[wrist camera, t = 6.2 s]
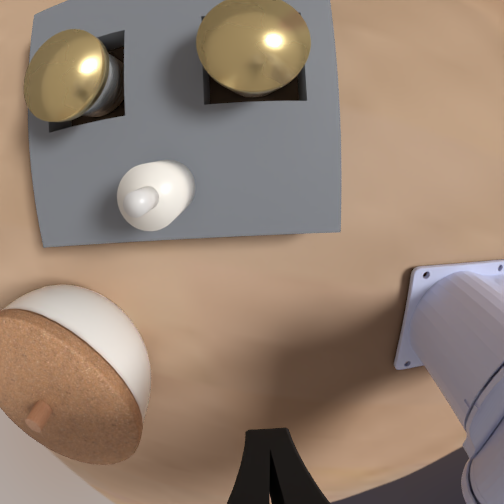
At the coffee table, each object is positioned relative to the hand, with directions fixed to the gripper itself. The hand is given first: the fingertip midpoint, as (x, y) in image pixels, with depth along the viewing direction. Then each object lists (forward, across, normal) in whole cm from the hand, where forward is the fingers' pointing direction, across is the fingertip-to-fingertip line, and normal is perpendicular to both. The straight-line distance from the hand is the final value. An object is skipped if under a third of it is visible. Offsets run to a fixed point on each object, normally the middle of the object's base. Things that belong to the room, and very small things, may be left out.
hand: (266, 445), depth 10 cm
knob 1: (+10, +8, -13) cm, 19 cm away
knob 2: (+10, 0, -14) cm, 17 cm away
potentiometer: (+8, +4, -8) cm, 12 cm away
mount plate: (+10, +4, -12) cm, 16 cm away
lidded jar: (+11, +11, +2) cm, 16 cm away
